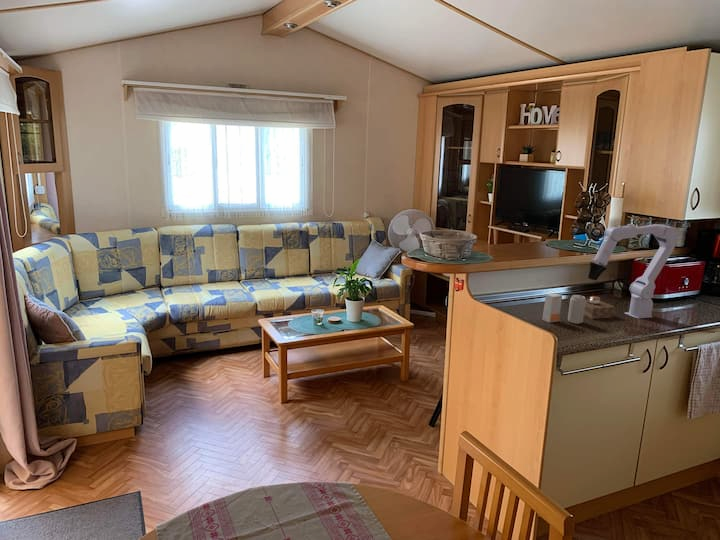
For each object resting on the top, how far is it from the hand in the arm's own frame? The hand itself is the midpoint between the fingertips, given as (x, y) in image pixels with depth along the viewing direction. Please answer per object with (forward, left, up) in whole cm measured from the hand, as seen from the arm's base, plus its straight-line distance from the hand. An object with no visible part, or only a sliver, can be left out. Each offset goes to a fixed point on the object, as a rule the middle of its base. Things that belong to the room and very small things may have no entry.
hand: (592, 279), depth 253 cm
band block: (-5, -2, -17) cm, 18 cm away
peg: (-5, -2, -13) cm, 14 cm away
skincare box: (+23, +3, -18) cm, 29 cm away
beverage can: (+13, +7, -18) cm, 23 cm away
